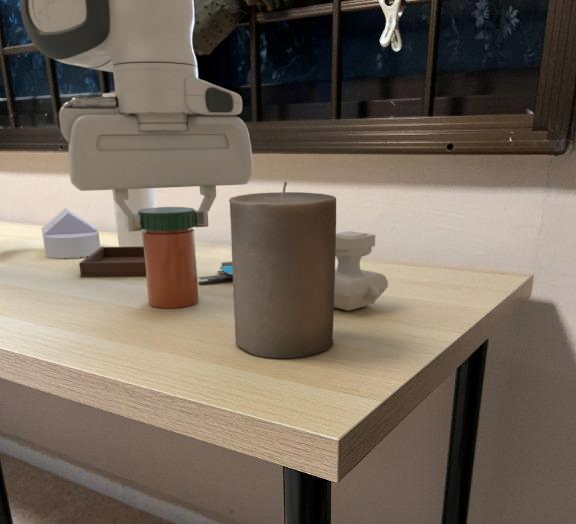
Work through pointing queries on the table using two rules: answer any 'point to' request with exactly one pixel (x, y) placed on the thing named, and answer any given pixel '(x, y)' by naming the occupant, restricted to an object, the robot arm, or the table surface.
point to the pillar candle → (283, 272)
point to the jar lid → (167, 218)
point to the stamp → (355, 272)
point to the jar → (170, 268)
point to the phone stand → (221, 275)
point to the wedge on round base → (70, 236)
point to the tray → (114, 262)
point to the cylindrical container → (132, 210)
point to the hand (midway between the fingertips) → (168, 228)
